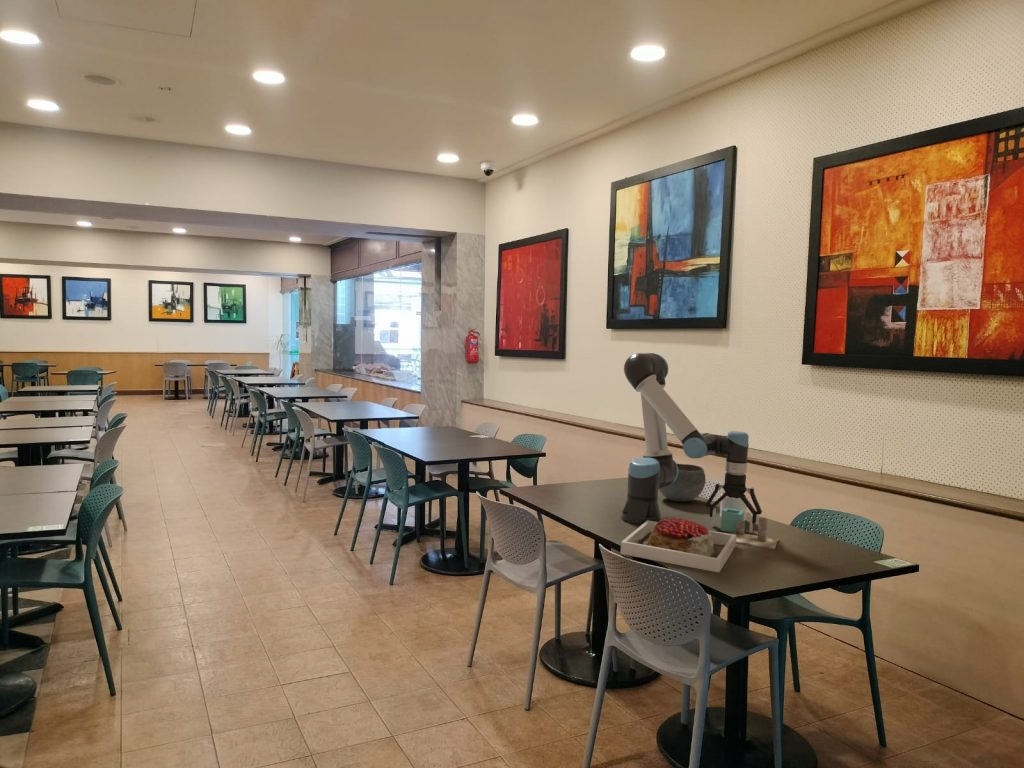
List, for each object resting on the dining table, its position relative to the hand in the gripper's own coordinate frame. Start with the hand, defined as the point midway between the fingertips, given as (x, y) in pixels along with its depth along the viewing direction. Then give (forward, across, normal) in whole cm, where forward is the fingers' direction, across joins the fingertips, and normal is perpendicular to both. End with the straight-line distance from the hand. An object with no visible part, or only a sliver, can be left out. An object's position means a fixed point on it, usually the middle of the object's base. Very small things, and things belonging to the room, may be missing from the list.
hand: (731, 528), depth 265 cm
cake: (+1, -12, -38) cm, 40 cm away
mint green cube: (0, 0, 0) cm, 0 cm away
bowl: (0, -28, +35) cm, 45 cm away
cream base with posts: (0, +9, -11) cm, 14 cm away
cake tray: (0, -11, -37) cm, 39 cm away
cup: (0, -2, +15) cm, 15 cm away
